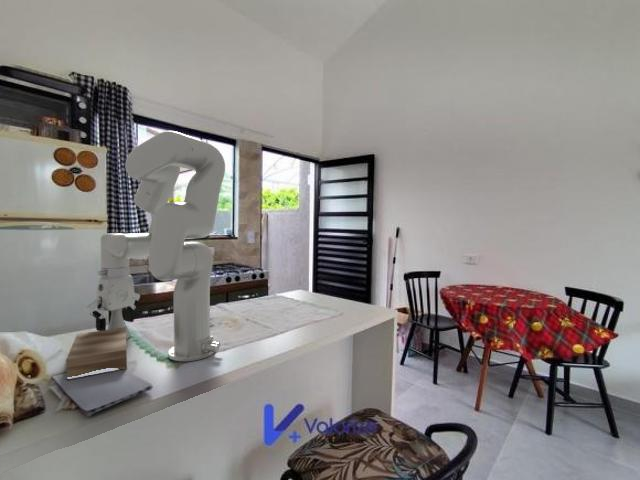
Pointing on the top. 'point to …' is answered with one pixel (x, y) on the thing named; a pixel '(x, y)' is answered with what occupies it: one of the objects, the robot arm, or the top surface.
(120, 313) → the flask
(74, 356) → the walnut riser
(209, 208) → the robot arm
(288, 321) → the top surface
